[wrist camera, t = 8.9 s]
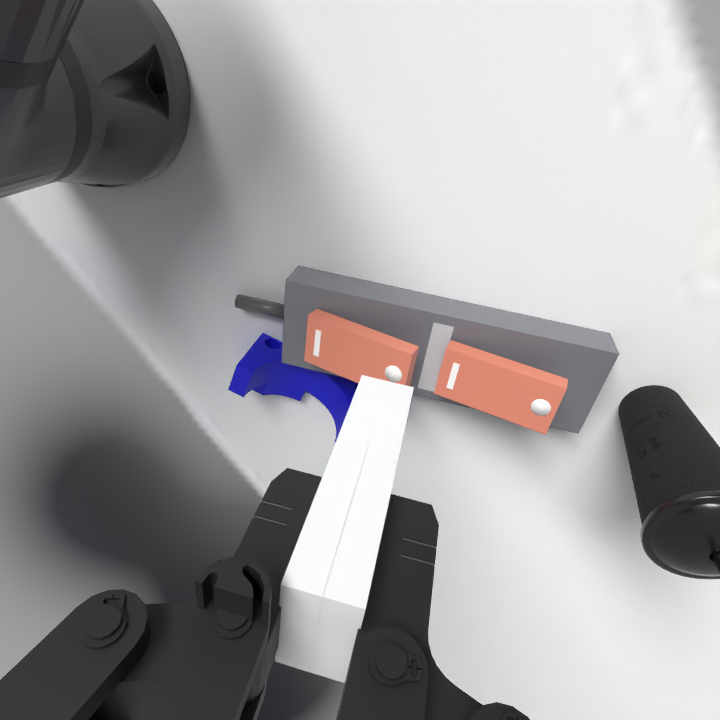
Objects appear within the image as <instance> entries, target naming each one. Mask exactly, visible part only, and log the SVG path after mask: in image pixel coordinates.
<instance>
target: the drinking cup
mask: <svg viewBox="0 0 720 720" xmlns="http://www.w3.org/2000/svg"><path fill="white" fill-rule="evenodd" d="M619 416H620V421H621V426H622V431H623V435H624V440H625V445H626V450H627V455H628V459H629V464H630V469H631V474H632V479H633V483H634V488H635V493H636V498H637V503H638V508H639V512H640V517H641V522H642V528H641V535H640V537H641V542H642V546H643V548H644V551H645V552H646V554H647V555H648V557H649V558H650V559H651V560H652V561H653V562H654V563H655V564H657V565H658V566H660V567H661V568H663V569H665V570H667V571H669V572H671V573H674V574H677V575H681V576H685V577H690V578H696V579H720V447H719V446H718V444H717V443H716V442H715V441H714V439H713V438H712V437H711V436H710V434H709V433H708V432H707V430H706V429H705V428H704V427H703V425H702V424H701V423H700V421H699V420H698V419H697V418H696V416H695V415H694V414H693V413H692V411H691V410H690V409H689V407H688V406H687V405H686V404H685V402H684V401H683V400H682V398H681V397H680V396H679V395H678V394H677V393H676V392H675V391H673V390H672V389H670V388H667V387H664V386H656V385H652V386H645V387H641V388H638V389H636V390H634V391H632V392H630V393H629V394H628V395H627V396H626V397H625V398H624V399H623V400H622V402H621V404H620V406H619Z"/></svg>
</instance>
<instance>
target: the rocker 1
mask: <svg viewBox="0 0 720 720" xmlns="http://www.w3.org/2000/svg"><path fill="white" fill-rule="evenodd" d="M418 349H419V346H416V345H413V344H411V343H408V342H405V341H403V340H400V339H397V338H395V337H392V336H389V335H387V334H384V333H381V332H379V331H376V330H373V329H371V328H368V327H365V326H363V325H360V324H357V323H354V322H352V321H349V320H346V319H344V318H341V317H338V316H336V315H333V314H330V313H328V312H325V311H322V310H320V309H316V310H315V311H313V312H312V313H310V314H309V315H308V321H307V333H306V345H305V357H304V361H306V362H308V363H311V364H313V365H315V366H318V367H320V368H323V369H325V370H327V371H330V372H332V373H335V374H337V375H339V376H342V377H344V378H347V379H349V380H351V381H354V382H356V383H359V381H360V379H361V376H362V375H364V376H368V377H373V378H377V379H381V380H385V381H389V382H394V383H398V384H402V385H406V386H410V383H411V379H412V375H413V371H414V366H415V362H416V358H417V354H418Z"/></svg>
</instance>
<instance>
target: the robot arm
mask: <svg viewBox="0 0 720 720" xmlns="http://www.w3.org/2000/svg"><path fill="white" fill-rule="evenodd" d="M189 104H190V102H189V87H188V80H187V75H186V70H185V66H184V62H183V59H182V55H181V52H180V50H179V47H178V44H177V42H176V40H175V37H174V35H173V33H172V31H171V29H170V27H169V25H168V23H167V21H166V20H165V18H164V16H163V15H162V13H161V12H160V10H159V9H158V7H157V6H156V4H155V3H154V2H153V0H0V198H3V197H6V196H10V195H13V194H16V193H20V192H23V191H26V190H29V189H33V188H36V187H39V186H43V185H46V184H49V183H52V182H56V181H57V182H73V183H81V184H85V185H89V186H93V187H100V188H119V187H126V186H130V185H133V184H136V183H139V182H141V181H144V180H147V179H149V178H151V177H153V176H155V175H157V174H159V173H160V172H161V171H163V170H164V169H165V168H166V167H167V166H168V165H169V164H170V163H171V162H172V160H173V159H174V158H175V156H176V155H177V153H178V151H179V149H180V147H181V145H182V143H183V140H184V137H185V134H186V130H187V125H188V119H189ZM413 389H414V387H410V386H406V385H402V384H398V383H394V382H389V381H385V380H381V379H377V378H373V377H368V376H364V375H362V376H361V379H360V381H359V384H358V386H357V389H356V392H355V394H354V397H353V399H352V402H351V404H350V407H349V410H348V412H347V415H346V417H345V420H344V422H343V425H342V428H341V430H340V433H339V435H338V438H337V440H336V443H335V446H334V448H333V451H332V453H331V456H330V459H329V461H328V464H327V466H326V469H325V471H324V474H323V477H319V476H315V475H312V474H308V473H304V472H300V471H297V470H293V469H289V468H287V469H286V470H284V471H283V472H282V473H281V474H280V475H279V476H277V477H276V478H275V479H274V480H273V481H271V483H270V485H269V487H268V489H267V491H266V493H265V495H264V497H263V499H262V502H261V503H260V505H259V507H258V509H257V511H256V513H255V516H254V518H253V519H252V521H251V523H250V525H249V527H248V529H247V531H246V533H245V535H244V537H243V539H242V541H241V543H240V545H239V547H238V549H237V551H236V553H235V555H234V557H231V558H227V559H223V560H219V561H217V562H215V563H214V564H212V565H211V566H209V567H207V568H206V569H205V570H204V571H203V572H202V573H201V575H200V576H199V577H198V579H197V580H196V581H195V584H196V594H197V598H196V599H193V600H191V601H186V602H179V603H164V604H145V603H144V602H143V601H142V600H141V599H140V598H139V597H138V596H137V595H136V594H135V593H132V592H129V591H126V590H107V591H105V592H102V593H99V594H97V595H94V596H91V597H90V598H89V599H87V600H86V601H85V602H83V603H82V604H80V605H79V606H78V607H76V609H74V610H73V611H72V612H71V613H70V614H69V615H68V616H67V617H66V618H65V619H64V620H63V621H62V622H61V623H60V624H59V625H58V626H57V627H56V628H54V629H53V630H52V631H51V632H50V633H49V634H48V635H47V636H46V637H45V638H44V639H43V640H42V641H41V642H40V643H39V644H38V645H37V646H36V647H35V648H33V650H31V651H30V652H29V653H28V654H27V655H26V656H25V657H24V658H23V659H22V660H21V661H20V662H19V663H18V664H17V665H16V666H15V667H14V668H12V669H11V670H10V671H9V672H8V673H7V674H6V675H5V676H4V677H3V678H2V679H1V680H0V720H256V719H257V716H258V713H259V710H260V707H261V704H262V702H263V698H264V696H265V690H266V683H267V677H268V674H269V671H270V668H271V666H272V663H273V660H274V657H275V661H276V662H279V663H282V664H285V665H288V666H291V667H295V668H298V669H301V670H304V671H308V672H311V673H314V674H317V675H321V676H324V677H327V678H330V679H334V680H337V681H340V682H343V683H345V685H344V689H343V694H342V698H341V703H340V707H339V711H338V715H337V719H336V720H530V719H529V718H528V717H527V716H525V715H524V714H523V713H521V712H520V711H518V710H517V709H515V708H514V707H513V706H509V705H505V704H501V703H497V702H496V703H491V704H487V705H482V704H480V703H479V702H477V701H476V700H475V699H473V698H472V697H470V696H469V695H468V694H466V693H465V692H463V691H462V690H461V689H459V688H458V687H456V686H455V685H454V684H453V683H452V682H451V681H449V680H448V679H447V678H446V677H445V676H444V675H443V673H442V672H441V671H440V669H439V668H438V667H437V665H436V663H435V661H434V659H433V657H432V655H431V651H430V647H429V643H428V626H429V616H430V606H431V597H432V587H433V577H434V564H435V557H436V546H437V537H438V527H439V524H438V522H437V519H436V516H435V513H434V510H433V507H432V505H430V504H426V503H423V502H419V501H415V500H411V499H407V498H404V497H400V496H396V495H392V494H391V490H392V485H393V481H394V476H395V472H396V467H397V463H398V458H399V453H400V449H401V444H402V440H403V435H404V430H405V426H406V421H407V417H408V412H409V407H410V403H411V398H412V394H413ZM275 654H276V655H275Z"/></svg>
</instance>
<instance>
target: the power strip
mask: <svg viewBox="0 0 720 720" xmlns="http://www.w3.org/2000/svg"><path fill="white" fill-rule="evenodd" d="M235 307H236V308H240V309H244V310H248V311H253V312H257V313H262V314H266V315H270V316H275V317H279V318H283V319H284V324H283V344H282V363H285V364H290V365H294V366H298V367H302V368H306V369H310V370H315V371H319V372H323V373H327V374H331V375H336V376H339V375H337V374H335V373H332V372H330V371H327V370H325V369H323V368H320V367H318V366H315V365H313V364H311V363H308V362H306V361H304V357H305V345H306V333H307V321H308V315H309V314H310V313H312V312H313V311H315V310H316V309H320V310H322V311H325V312H328V313H330V314H333V315H336V316H338V317H341V318H344V319H346V320H349V321H352V322H354V323H357V324H360V325H363V326H365V327H368V328H371V329H373V330H376V331H379V332H381V333H384V334H387V335H389V336H392V337H395V338H397V339H400V340H403V341H405V342H408V343H411V344H413V345H416V346H419V349H418V354H417V358H416V362H415V366H414V371H413V375H412V379H411V383H410V387H414V389H413V394H415V395H419V396H423V397H427V398H432V399H436V400H440V401H444V402H448V403H452V404H457V405H461V406H465V407H469V406H467V405H464V404H461V403H459V402H456V401H453V400H451V399H448V398H445V397H442V396H440V395H437V394H434V391H435V387H436V383H437V380H438V376H439V372H440V369H441V365H442V361H443V358H444V354H445V350H446V347H447V346H448V344H449V343H450V341H451V340H453V341H456V342H459V343H462V344H465V345H468V346H471V347H474V348H477V349H480V350H483V351H485V352H488V353H491V354H494V355H497V356H500V357H503V358H506V359H509V360H512V361H515V362H518V363H521V364H524V365H527V366H530V367H533V368H536V369H539V370H542V371H545V372H548V373H551V374H554V375H557V376H560V377H563V378H566V379H568V384H567V390H566V392H565V394H564V396H563V398H562V400H561V403H560V405H559V407H558V409H557V411H556V413H555V416H554V418H553V420H552V422H551V424H550V426H549V427H553V428H557V429H561V430H565V431H569V432H574V433H579V431H580V429H581V427H582V425H583V423H584V421H585V420H586V418H587V416H588V414H589V412H590V410H591V408H592V406H593V404H594V402H595V400H596V398H597V396H598V394H599V392H600V390H601V388H602V386H603V384H604V382H605V380H606V378H607V377H608V375H609V373H610V371H611V369H612V367H613V365H614V363H615V361H616V359H617V357H618V355H619V352H618V350H617V348H616V346H615V343H614V341H613V339H612V337H611V334H610V333H606V332H601V331H597V330H592V329H588V328H583V327H578V326H574V325H569V324H564V323H560V322H555V321H551V320H546V319H541V318H537V317H532V316H527V315H523V314H518V313H513V312H509V311H504V310H500V309H495V308H490V307H486V306H481V305H476V304H472V303H467V302H463V301H458V300H453V299H449V298H444V297H439V296H435V295H430V294H425V293H421V292H416V291H412V290H407V289H402V288H398V287H393V286H388V285H384V284H379V283H375V282H370V281H365V280H361V279H356V278H351V277H347V276H342V275H337V274H333V273H328V272H324V271H319V270H314V269H310V268H305V267H300V266H298V267H297V268H296V270H295V271H294V272H293V273H292V274H291V275H290V276H289V277H288V279H287V280H286V286H285V305H283V304H279V303H275V302H270V301H266V300H261V299H257V298H252V297H248V296H244V295H237V297H236V300H235ZM340 377H342V376H340ZM469 408H472V407H469ZM473 409H475V408H473Z"/></svg>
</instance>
